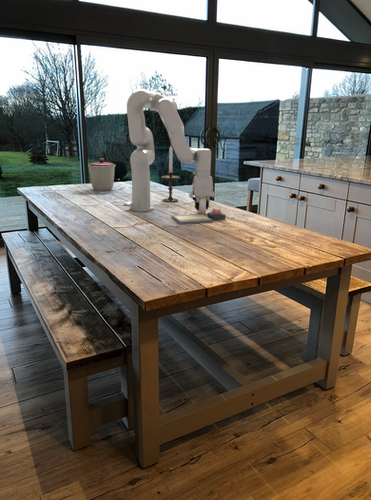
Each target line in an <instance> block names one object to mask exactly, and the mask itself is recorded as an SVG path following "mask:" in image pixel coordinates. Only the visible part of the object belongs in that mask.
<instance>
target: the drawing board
mask: <svg viewBox="0 0 371 500" xmlns="http://www.w3.org/2000/svg"><path fill="white" fill-rule="evenodd" d="M171 219H173V220H174V221H175V222H177V223H178V224H179V225H190V224H191V225H192V224H205V223H206V224H207V223H213V220H212V219H210V218H208V217H207V215H206V214H197V213H189V214H187V213H186V214H185V213H184V214H172V215H171Z"/></svg>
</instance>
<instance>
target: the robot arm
mask: <svg viewBox="0 0 371 500" xmlns="http://www.w3.org/2000/svg"><path fill="white" fill-rule="evenodd" d="M145 109H149V110H152V111H154V112H156V113H158V114H159V116H160V119H161V120H162V123H163V125H164V128H165V129H166V131H167V134H168V137H169V140H170V144H172V145H171V147H172V149H173V150H174V153H175V155H176V157H177V159H178V160H179V162H180V163H182V164H184V165H188V164H190V163H195V170H194V171H192V174H193V175H194V177H193V180H192V189H191V191H190V193H189V195H188V197H189V198H190V199H192V200H193V201H194V208H195V210H196V211H197V210H199V202H198V200H199V197H207V198H206V211H207V210H209V206H210V201H211V200H212V199H213V198H215V196H216V193H215V192H214V183H213V182H214V181H213V177H212V176H211V162H212V150H211V149H210V148H195V147H190V146H189V144H188V142H187V141H188V140H187V138H186V136H185V126H184V123H183V120H182V119H181V117H180V115H179V112H178V104H177V102H176V101H175V100H174V99H173V98H169V97H167V96H165V95H162V94H159V93H157V92H155V91H153V90H149V89H144V88H141V89H137V90H135V91H133V92H132V93H131V94H130V95H129V97H128V99H127V102H126V112H127V113H126V114H127V121H128V123H127V124H128V132H129V133H128V134H129V140H130V142H131V144H132V145H133V146H136V149H134V150H133V152H132V153H131V155H130V159H129V161H130V169H131V191H132V194H131V200H130V201H128V202H123V207H129V210H130V211H133V212H150V211H154V207H153V206H152V205H151V172H150V165H152V164H153V163H154V161H155V157H156V155H155V154H156V153H155V145H154V143H155V142H154V136H153V133H152V131H151V129H150V128H149V127H147V126H146V118H145V113H144V110H145Z"/></svg>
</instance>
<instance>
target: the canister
mask: <svg viewBox="0 0 371 500" xmlns="http://www.w3.org/2000/svg"><path fill="white" fill-rule="evenodd" d="M116 165H117V164H114V163H113V162H108V161H105V159H104V158H103V157H101V158H99V159H98V161H96V162H91V163H89V164H88V165H87V167H88V169H89V170H88V171H89V176H90V181H91V187H92V189H93V190H95V191H100V192H102V191H103V192H104V191H111V190H112V189H113V188H114V187H113V186H114V180H115V167H116Z"/></svg>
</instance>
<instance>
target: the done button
mask: <svg viewBox="0 0 371 500" xmlns="http://www.w3.org/2000/svg"><path fill="white" fill-rule="evenodd" d="M211 212H212V214H213V215H219V214H221V212H222V210H221V209H220V208H213V209H212V211H211Z"/></svg>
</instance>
